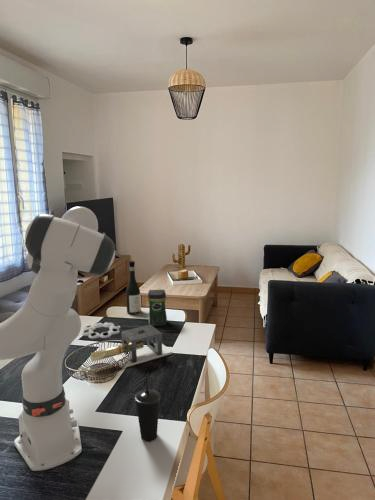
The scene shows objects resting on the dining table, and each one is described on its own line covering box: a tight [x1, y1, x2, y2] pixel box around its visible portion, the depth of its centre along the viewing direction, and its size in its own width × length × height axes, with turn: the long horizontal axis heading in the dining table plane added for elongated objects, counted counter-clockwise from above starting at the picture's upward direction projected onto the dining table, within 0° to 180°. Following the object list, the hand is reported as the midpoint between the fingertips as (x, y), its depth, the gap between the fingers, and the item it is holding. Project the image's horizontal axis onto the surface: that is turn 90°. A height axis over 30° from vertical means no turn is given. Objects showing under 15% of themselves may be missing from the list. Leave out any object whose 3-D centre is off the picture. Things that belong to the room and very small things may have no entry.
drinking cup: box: [134, 375, 161, 443], centre depth 113 cm, size 8×8×20 cm
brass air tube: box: [90, 340, 145, 363], centre depth 159 cm, size 22×4×4 cm, turn 122°
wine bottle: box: [125, 260, 142, 315], centre depth 213 cm, size 8×8×30 cm
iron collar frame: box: [121, 324, 163, 363], centre depth 164 cm, size 14×11×10 cm
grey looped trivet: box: [81, 321, 121, 340], centre depth 192 cm, size 20×20×2 cm
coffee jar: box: [147, 289, 168, 327], centre depth 198 cm, size 10×8×19 cm
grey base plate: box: [111, 343, 173, 369], centre depth 165 cm, size 24×11×1 cm, turn 122°
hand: (68, 307), depth 144 cm, fingers open, 8 cm apart
